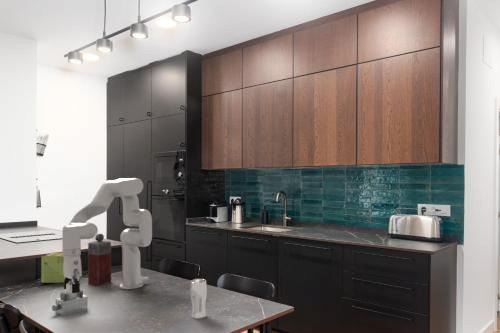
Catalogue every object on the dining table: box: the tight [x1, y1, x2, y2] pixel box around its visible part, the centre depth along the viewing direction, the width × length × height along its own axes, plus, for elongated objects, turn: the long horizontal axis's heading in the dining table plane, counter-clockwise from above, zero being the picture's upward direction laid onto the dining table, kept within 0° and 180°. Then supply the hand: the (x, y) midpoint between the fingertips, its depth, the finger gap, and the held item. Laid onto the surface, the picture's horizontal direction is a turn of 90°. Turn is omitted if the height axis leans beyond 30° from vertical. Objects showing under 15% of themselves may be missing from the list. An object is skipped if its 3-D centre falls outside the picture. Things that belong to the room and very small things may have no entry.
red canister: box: [87, 233, 112, 286], centre depth 223 cm, size 9×11×28 cm
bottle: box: [65, 281, 77, 299], centre depth 174 cm, size 4×4×7 cm
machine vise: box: [51, 289, 89, 317], centre depth 173 cm, size 13×8×8 cm, turn 135°
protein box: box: [40, 252, 64, 284], centre depth 229 cm, size 10×15×16 cm
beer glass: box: [189, 278, 208, 320], centre depth 165 cm, size 7×7×15 cm
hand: (71, 290), depth 174 cm, fingers open, 9 cm apart
